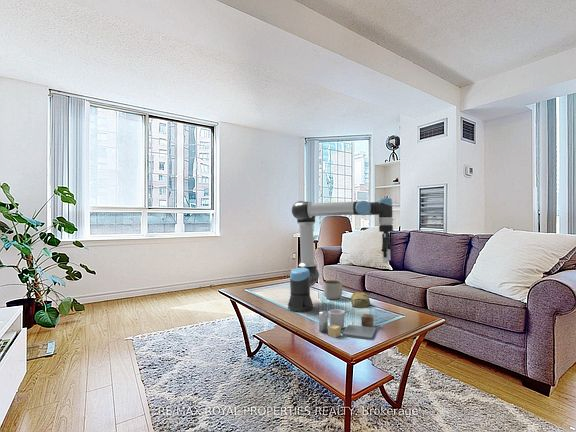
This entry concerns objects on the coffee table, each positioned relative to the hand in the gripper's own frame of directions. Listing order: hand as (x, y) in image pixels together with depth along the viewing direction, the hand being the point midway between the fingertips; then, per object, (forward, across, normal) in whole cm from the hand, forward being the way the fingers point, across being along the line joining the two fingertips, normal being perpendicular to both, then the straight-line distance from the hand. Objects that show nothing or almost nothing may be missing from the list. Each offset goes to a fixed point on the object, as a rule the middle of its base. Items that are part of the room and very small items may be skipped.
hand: (386, 261), depth 173 cm
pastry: (+28, +6, +17) cm, 33 cm away
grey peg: (+28, -45, +24) cm, 58 cm away
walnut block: (+28, -30, +7) cm, 41 cm away
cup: (+28, -37, +20) cm, 51 cm away
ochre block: (+28, -48, +18) cm, 59 cm away
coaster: (+28, -41, +8) cm, 50 cm away
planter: (+28, +17, +37) cm, 49 cm away
